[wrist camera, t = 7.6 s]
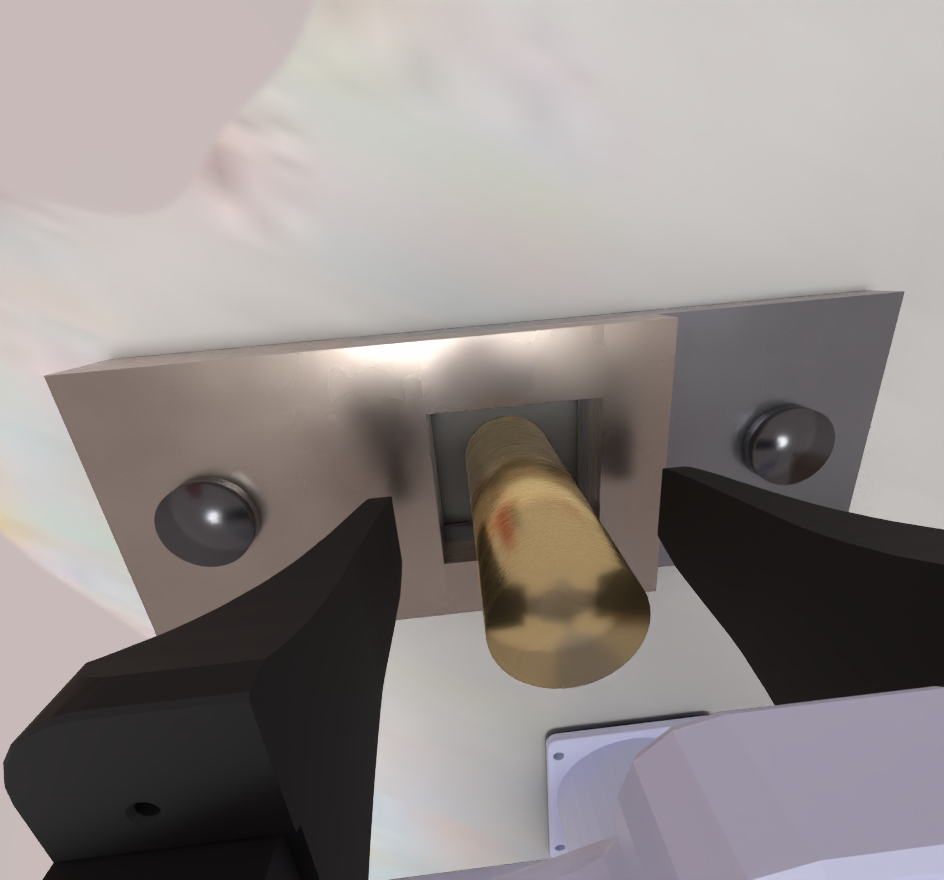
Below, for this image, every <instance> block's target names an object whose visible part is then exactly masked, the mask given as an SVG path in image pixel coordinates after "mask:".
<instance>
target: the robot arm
mask: <svg viewBox="0 0 944 880" xmlns="http://www.w3.org/2000/svg"><path fill="white" fill-rule="evenodd" d="M657 535H658V537H659V539H660V541H661V542H662V544H663V546H664V548H665V550H666V552H667V553H668V555H669V557H670V558H671V560H672V562H673V563H674V565H675V567H676V568H677V569H678V571H679V572H680V573H681V574H682V576H683V577H684V578H685V580H686V581H687V582H688V584H689V585H690V586H691V587H692V589H693V590H694V591H695V593H696V594H697V595H698V596H699V598H700V599H701V600H702V601H703V603H704V604H705V605H706V606H707V608H708V609H709V610H710V611H711V613H712V614H713V615H714V616H715V618H716V619H717V620H718V622H719V623H720V624H721V625H722V627H723V628H724V629H725V630H726V632H727V633H728V634H729V635H730V637H731V638H732V640H733V641H734V642H735V644H736V645H737V646H738V648H739V649H740V651H741V652H742V654H743V655H744V657H745V658H746V660H747V661H748V663H749V664H750V666H751V668H752V669H753V671H754V672H755V674H756V675H757V677H758V679H759V680H760V682H761V683H762V685H763V686H764V688H765V690H766V691H767V693H768V694H769V696H770V698H771V699H772V701H773V703H774V705H775V706H767V707H758V708H750V709H742V710H733V711H725V712H718V713H714V714H711V715H708V716H697V717H689V718H680V719H672V720H664V721H656V722H647V723H639V724H631V725H623V726H615V727H606V728H598V729H590V730H582V731H573V732H565V733H557V734H553V735H551V736H549V738H548V739H547V740H546V760H547V792H548V824H549V853H550V859H545V860H537V861H530V862H522V863H514V864H506V865H499V866H491V867H483V868H475V869H468V870H460V871H452V872H445V873H437V874H429V875H421V876H414V877H406V878H398V879H391V880H944V530H943V529H936V528H930V527H924V526H918V525H912V524H906V523H899V522H894V521H888V520H883V519H878V518H873V517H868V516H864V515H859V514H854V513H850V512H845V511H841V510H836V509H832V508H828V507H824V506H820V505H816V504H813V503H809V502H806V501H802V500H799V499H795V498H792V497H788V496H785V495H781V494H778V493H775V492H771V491H768V490H765V489H762V488H759V487H756V486H752V485H749V484H746V483H743V482H740V481H737V480H734V479H731V478H728V477H725V476H721V475H718V474H715V473H712V472H708V471H705V470H701V469H697V468H693V467H687V466H682V467H672V468H663V469H662V482H661V495H660V508H659V520H658V533H657ZM401 579H402V557H401V551H400V545H399V539H398V533H397V527H396V521H395V514H394V508H393V502H392V496H389V497H380V498H370V499H367V500H366V501H364V502H363V503H362V504H361V505H360V506H359V507H358V508H357V509H356V510H354V511H353V512H352V513H351V514H350V515H349V516H348V517H347V518H346V519H345V520H344V521H343V522H341V523H340V524H339V525H338V526H337V527H336V528H335V529H334V530H333V531H332V532H330V533H329V534H328V535H327V536H326V537H325V538H323V539H322V540H321V541H320V542H318V543H317V544H316V545H315V546H313V547H312V548H311V549H310V550H309V551H307V552H306V553H305V554H304V555H302V556H301V557H300V558H298V559H297V560H296V561H294V562H293V563H292V564H290V565H289V566H287V567H286V568H285V569H283V570H281V571H280V572H278V573H277V574H275V575H274V576H272V577H271V578H269V579H268V580H266V581H265V582H263V583H261V584H260V585H258V586H256V587H255V588H253V589H251V590H249V591H247V592H246V593H244V594H242V595H240V596H239V597H237V598H235V599H233V600H231V601H230V602H228V603H226V604H224V605H222V606H221V607H219V608H217V609H215V610H213V611H211V612H209V613H206V614H204V615H202V616H200V617H198V618H196V619H194V620H192V621H190V622H188V623H185V624H183V625H181V626H179V627H177V628H174V629H172V630H170V631H167V632H165V633H163V634H160V635H158V636H156V637H153V638H151V639H148V640H146V641H143V642H141V643H138V644H135V645H133V646H130V647H128V648H125V649H123V650H120V651H117V652H115V653H112V654H109V655H107V656H104V657H102V658H99V659H96V660H94V661H91V662H88V663H86V664H85V665H84V666H83V667H82V668H81V669H80V670H79V671H78V672H77V674H76V675H75V676H74V677H73V678H72V679H71V680H70V681H69V682H68V683H67V684H66V685H65V687H64V688H63V689H62V690H61V691H60V692H59V693H58V694H57V695H56V696H55V697H54V698H53V699H52V701H51V702H50V703H49V704H48V705H47V706H46V707H45V708H44V709H43V710H42V711H41V712H40V714H39V715H38V716H37V717H36V718H35V719H34V720H33V721H32V722H31V723H30V724H29V725H28V727H27V728H26V729H25V730H24V731H23V732H22V733H21V734H20V735H19V736H18V737H17V738H16V740H15V741H14V742H13V743H12V744H11V746H10V748H9V751H8V753H7V755H6V758H5V760H4V762H3V765H4V783H5V788H6V790H7V793H8V795H9V796H10V799H11V801H12V803H13V805H14V807H15V808H16V809H17V811H18V812H19V814H20V815H21V817H22V818H23V819H24V821H25V822H26V824H27V825H28V826H29V828H30V829H31V831H32V832H33V834H34V835H35V837H36V838H37V839H38V841H39V842H40V844H41V845H42V847H43V848H44V849H45V851H46V852H47V854H48V855H49V856H50V858H51V859H52V861H53V862H54V863H53V865H52V866H51V868H50V870H49V871H48V872H47V874H46V875H45V877H44V878H43V880H368V875H369V856H370V840H371V825H372V810H373V795H374V781H375V768H376V756H377V743H378V732H379V721H380V710H381V700H382V691H383V684H384V678H385V672H386V667H387V662H388V657H389V652H390V647H391V642H392V637H393V632H394V627H395V622H396V616H397V611H398V606H399V600H400V594H401Z"/></svg>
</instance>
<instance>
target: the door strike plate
mask: <svg viewBox="0 0 944 880" xmlns="http://www.w3.org/2000/svg"><path fill="white" fill-rule="evenodd" d="M903 295H904V292H902V291H869V290H867V291H856V292H845V293H834V294H823V295H812V296H801V297H790V298H779V299H769V300H758V301H747V302H736V303H725V304H714V305H703V306H692V307H681V308H670V309H659V310H648V311H637V312H626V313H615V314H604V315H593V316H582V317H571V318H560V319H549V320H538V321H527V322H516V323H505V324H494V325H483V326H472V327H461V328H450V329H439V330H428V331H417V332H406V333H395V334H384V335H373V336H362V337H351V338H340V339H329V340H318V341H308V342H297V343H286V344H275V345H264V346H253V347H242V348H231V349H220V350H209V351H198V352H187V353H176V354H165V355H154V356H143V357H132V358H121V359H111V360H106V361H102V362H98V363H94V364H90V365H86V366H82V367H78V368H74V369H70V370H66V371H62V372H58V373H54V374H50V375H46V376H44V377H45V379H46V382H47V384H48V386H49V389H50V391H51V393H52V396H53V398H54V400H55V402H56V405H57V407H58V409H59V412H60V414H61V416H62V419H63V421H64V423H65V426H66V428H67V430H68V432H69V435H70V437H71V439H72V442H73V444H74V446H75V449H76V451H77V453H78V455H79V458H80V460H81V462H82V465H83V467H84V469H85V472H86V474H87V476H88V478H89V481H90V483H91V485H92V488H93V490H94V492H95V495H96V497H97V499H98V501H99V504H100V506H101V508H102V511H103V513H104V515H105V518H106V520H107V522H108V524H109V527H110V529H111V531H112V534H113V536H114V538H115V541H116V543H117V545H118V547H119V550H120V552H121V554H122V557H123V559H124V561H125V564H126V566H127V568H128V570H129V573H130V575H131V577H132V580H133V582H134V584H135V587H136V589H137V591H138V593H139V596H140V598H141V600H142V603H143V605H144V607H145V610H146V612H147V614H148V616H149V619H150V621H151V623H152V626H153V628H154V630H155V633H156V635H157V636H158V635H160V634H163V633H165V632H167V631H170V630H172V629H174V628H177V627H179V626H181V625H183V624H185V623H188V622H190V621H192V620H194V619H196V618H198V617H200V616H202V615H204V614H206V613H209V612H211V611H213V610H215V609H217V608H219V607H221V606H222V605H224V604H226V603H228V602H230V601H231V600H233V599H235V598H237V597H239V596H240V595H242V594H244V593H246V592H247V591H249V590H251V589H253V588H255V587H256V586H258V585H260V584H261V583H263V582H265V581H266V580H268V579H269V578H271V577H272V576H274V575H275V574H277V573H278V572H280V571H281V570H283V569H285V568H286V567H287V566H289V565H290V564H292V563H293V562H294V561H296V560H297V559H298V558H300V557H301V556H302V555H304V554H305V553H306V552H307V551H309V550H310V549H311V548H312V547H313V546H315V545H316V544H317V543H318V542H320V541H321V540H322V539H323V538H325V537H326V536H327V535H328V534H329V533H330V532H332V531H333V530H334V529H335V528H336V527H337V526H338V525H339V524H340V523H341V522H343V521H344V520H345V519H346V518H347V517H348V516H349V515H350V514H351V513H352V512H353V511H354V510H356V509H357V508H358V507H359V506H360V505H361V504H362V503H363V502H364V501H366V500H367V499H370V498H380V497H389V496H392V502H393V508H394V514H395V521H396V527H397V533H398V539H399V545H400V551H401V557H402V579H401V594H400V600H399V606H398V611H397V616H396V620H401V619H410V618H418V617H427V616H436V615H445V614H454V613H463V612H472V611H481V610H483V606H482V598H481V589H480V581H479V573H478V564H477V556H476V547H475V539H474V530H473V522H472V521H471V522H461V523H452V524H444V522H443V513H442V505H441V497H440V489H439V480H438V472H437V464H436V455H435V447H434V439H433V431H432V422H431V414H436V413H446V412H457V411H467V410H477V409H487V408H498V407H508V406H518V405H529V404H539V403H549V402H559V401H570V400H578V449H577V486H578V488H579V489H580V491H581V492H582V494H583V495H584V497H585V498H586V500H587V502H588V503H589V505H590V506H591V508H592V509H593V511H594V512H595V514H596V516H597V517H598V519H599V520H600V522H601V523H602V525H603V526H604V528H605V530H606V531H607V533H608V534H609V536H610V537H611V539H612V540H613V542H614V544H615V545H616V547H617V548H618V550H619V551H620V553H621V554H622V556H623V558H624V559H625V561H626V562H627V564H628V565H629V567H630V568H631V570H632V572H633V573H634V575H635V576H636V578H637V579H638V581H639V582H640V584H641V586H642V587H643V589H644V590H645V592H651V591H656V581H657V569H658V567H662V566H671V565H674V563H673V562H672V560H671V558H670V557H669V555H668V553H667V552H666V550H665V548H664V546H663V544H662V542H661V541H660V539H659V537H658V535H657V533H658V520H659V508H660V495H661V482H662V469H663V468H672V467H682V466H687V467H693V468H697V469H701V470H705V471H708V472H712V473H715V474H718V475H721V476H725V477H728V478H731V479H734V480H737V481H740V482H743V483H746V484H749V485H752V486H756V487H759V488H762V489H765V490H768V491H771V492H775V493H778V494H781V495H785V496H788V497H792V498H795V499H799V500H802V501H806V502H809V503H813V504H816V505H820V506H824V507H828V508H832V509H836V510H841V511H845V512H848V511H849V507H850V503H851V499H852V495H853V491H854V487H855V483H856V480H857V476H858V472H859V468H860V464H861V460H862V456H863V452H864V448H865V444H866V440H867V436H868V432H869V429H870V425H871V421H872V417H873V413H874V409H875V405H876V401H877V397H878V393H879V389H880V385H881V382H882V378H883V374H884V370H885V366H886V362H887V358H888V354H889V350H890V346H891V342H892V338H893V334H894V331H895V327H896V323H897V319H898V315H899V311H900V307H901V303H902V299H903Z"/></svg>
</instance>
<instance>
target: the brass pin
mask: <svg viewBox="0 0 944 880" xmlns="http://www.w3.org/2000/svg"><path fill="white" fill-rule="evenodd" d="M465 463H466V472H467V480H468V488H469V497H470V505H471V514H472V522H473V530H474V539H475V547H476V556H477V564H478V573H479V581H480V589H481V598H482V606H483V615H484V623H485V631H486V640H487V644H488V648H489V650H490V652H491V655H492V657H493V658H494V660H495V661H496V663H497V664H498V665H499V666H500V667H501V668H502V669H503V670H504V671H505V672H506V673H508V674H509V675H510V676H512V677H514V678H515V679H517V680H519V681H522V682H524V683H526V684H530V685H533V686H537V687H543V688H553V689H557V688H572V687H577V686H582V685H586V684H589V683H592V682H595V681H597V680H600V679H602V678H604V677H606V676H608V675H610V674H612V673H613V672H615V671H616V670H617V669H619V668H620V667H622V666H623V665H624V664H625V663H626V662H627V661H628V660H629V659H630V658H631V657H632V656H633V655H634V654H635V653H636V651H637V650H638V649H639V647H640V646H641V644H642V642H643V641H644V639H645V636H646V634H647V631H648V627H649V623H650V605H649V601H648V597H647V595H646V593H645V590H644V589H643V587H642V586H641V584H640V582H639V581H638V579H637V578H636V576H635V575H634V573H633V572H632V570H631V568H630V567H629V565H628V564H627V562H626V561H625V559H624V558H623V556H622V554H621V553H620V551H619V550H618V548H617V547H616V545H615V544H614V542H613V540H612V539H611V537H610V536H609V534H608V533H607V531H606V530H605V528H604V526H603V525H602V523H601V522H600V520H599V519H598V517H597V516H596V514H595V512H594V511H593V509H592V508H591V506H590V505H589V503H588V502H587V500H586V498H585V497H584V495H583V494H582V492H581V491H580V489H579V488H578V486H577V484H576V483H575V481H574V480H573V478H572V477H571V475H570V474H569V472H568V470H567V469H566V467H565V466H564V464H563V463H562V461H561V460H560V458H559V456H558V455H557V453H556V452H555V450H554V449H553V447H552V446H551V444H550V442H549V441H548V439H547V438H546V436H545V435H544V433H543V432H542V431H541V429H540V428H539V427H538V426H536V425H535V424H534V423H532V422H531V421H529V420H527V419H524V418H521V417H515V416H504V417H499V418H495V419H492V420H490V421H488V422H486V423H485V424H483V425H482V426H481V427H479V428H478V429H477V430H476V431H475V432H474V434H473V435H472V437H471V438H470V440H469V442H468V445H467V447H466V452H465Z"/></svg>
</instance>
